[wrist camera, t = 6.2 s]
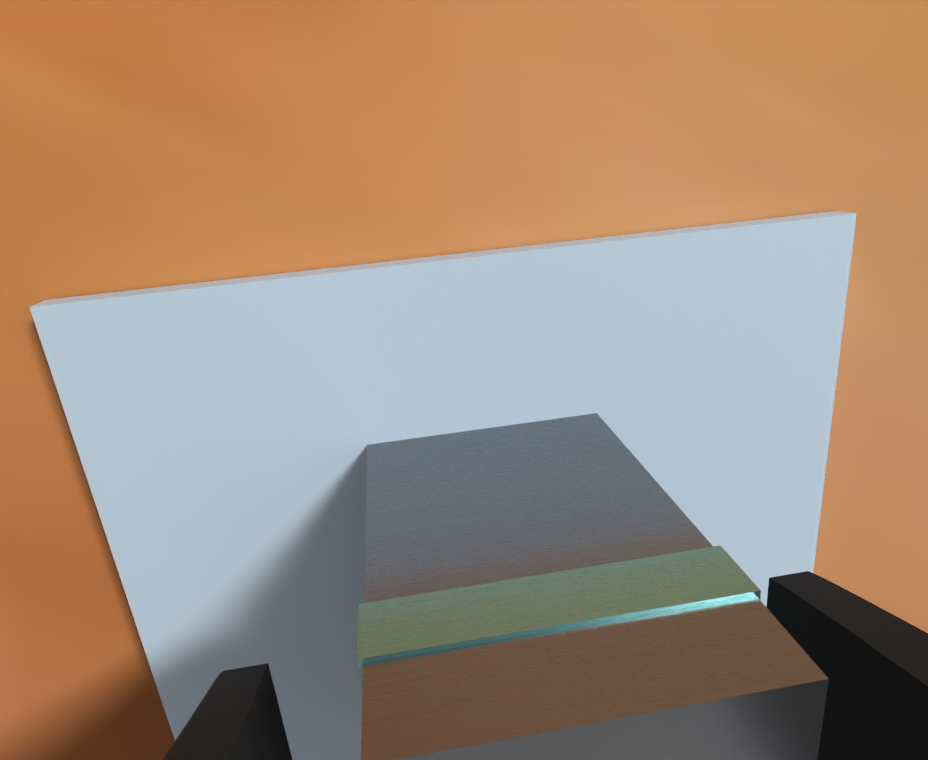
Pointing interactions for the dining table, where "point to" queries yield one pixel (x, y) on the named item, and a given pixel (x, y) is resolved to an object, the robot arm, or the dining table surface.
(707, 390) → the mat
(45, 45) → the dining table surface
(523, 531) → the block
